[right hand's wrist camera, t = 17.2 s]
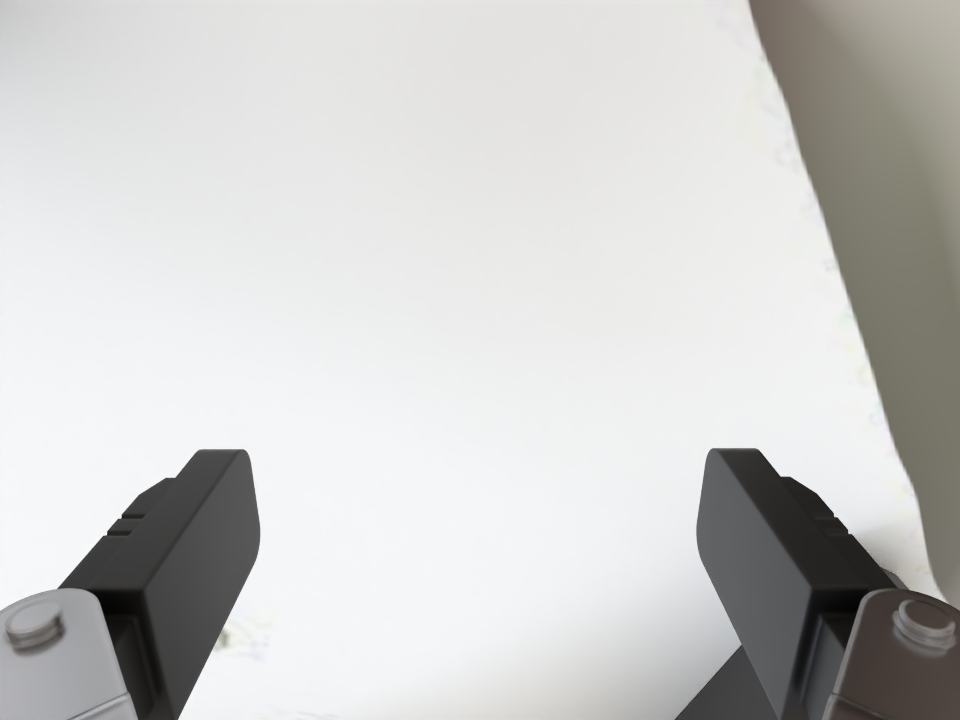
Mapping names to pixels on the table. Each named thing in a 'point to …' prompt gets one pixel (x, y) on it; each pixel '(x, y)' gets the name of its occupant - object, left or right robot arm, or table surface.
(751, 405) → the table surface
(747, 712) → the box
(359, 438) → the table surface
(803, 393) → the table surface
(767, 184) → the table surface
